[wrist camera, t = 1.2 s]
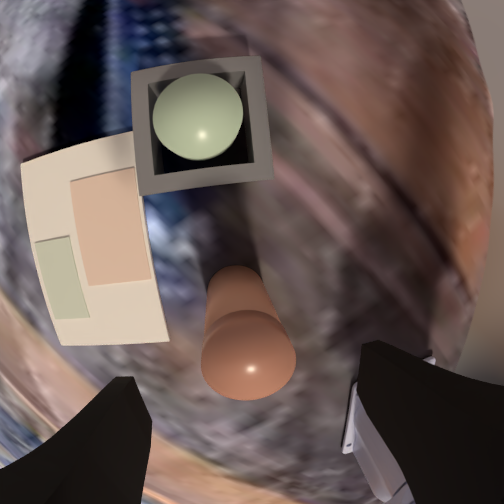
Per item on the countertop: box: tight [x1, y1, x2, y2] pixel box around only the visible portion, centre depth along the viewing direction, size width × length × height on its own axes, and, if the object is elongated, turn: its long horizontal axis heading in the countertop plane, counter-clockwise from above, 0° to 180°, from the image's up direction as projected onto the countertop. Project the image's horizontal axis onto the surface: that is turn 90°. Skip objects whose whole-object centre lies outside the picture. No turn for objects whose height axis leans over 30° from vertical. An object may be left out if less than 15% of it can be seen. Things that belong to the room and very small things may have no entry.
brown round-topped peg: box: [201, 265, 296, 400], centre depth 13 cm, size 3×3×7 cm
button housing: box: [131, 56, 274, 196], centre depth 13 cm, size 6×6×2 cm
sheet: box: [21, 131, 170, 345], centre depth 14 cm, size 12×8×1 cm, turn 6°
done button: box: [153, 73, 243, 161], centre depth 11 cm, size 4×4×2 cm
